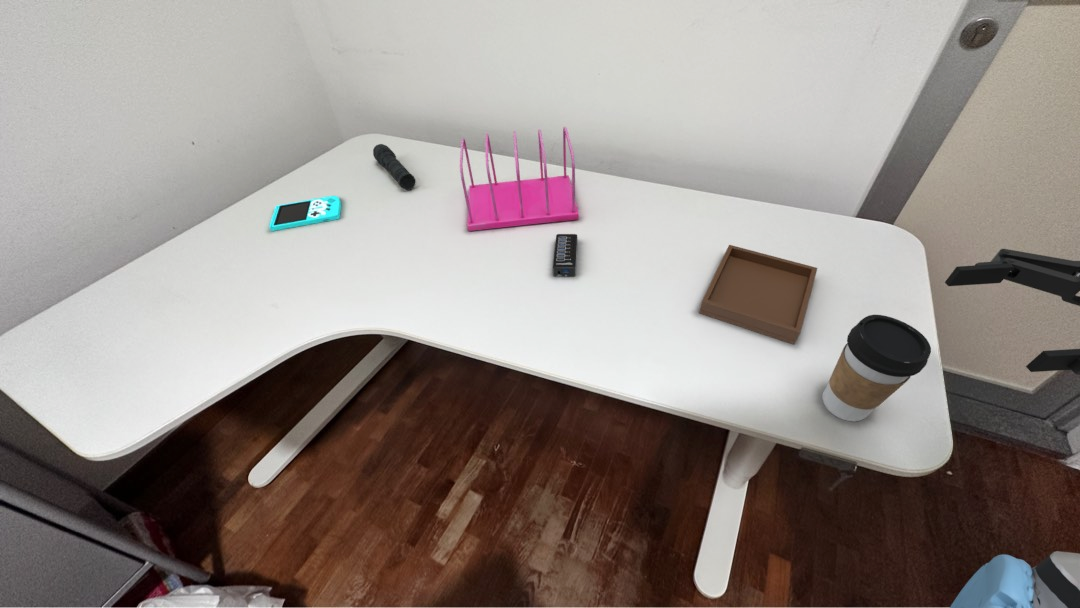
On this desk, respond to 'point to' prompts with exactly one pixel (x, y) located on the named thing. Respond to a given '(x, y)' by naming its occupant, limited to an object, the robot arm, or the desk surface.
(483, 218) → the file sorter
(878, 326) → the coffee cup
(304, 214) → the handheld game console
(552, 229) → the desk surface
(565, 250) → the multiport hub
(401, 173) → the flashlight
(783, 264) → the tray
